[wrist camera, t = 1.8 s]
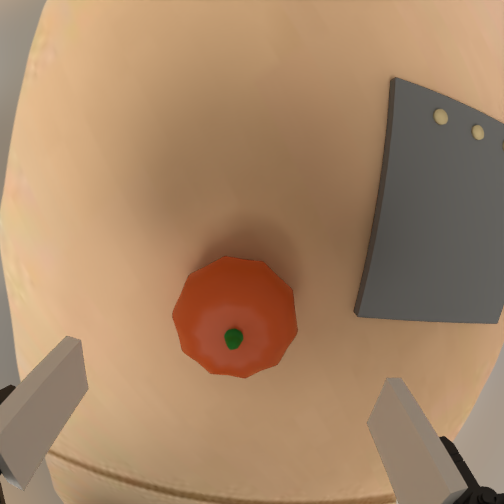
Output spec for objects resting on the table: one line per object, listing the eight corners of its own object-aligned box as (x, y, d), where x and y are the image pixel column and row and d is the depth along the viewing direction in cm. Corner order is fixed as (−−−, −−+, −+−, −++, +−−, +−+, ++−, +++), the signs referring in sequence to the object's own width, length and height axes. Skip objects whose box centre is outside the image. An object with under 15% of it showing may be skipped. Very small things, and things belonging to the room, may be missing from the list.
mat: (491, 319, 24) (499, 325, 23) (353, 311, 24) (359, 319, 22) (525, 140, 20) (534, 140, 19) (390, 80, 20) (398, 75, 18)
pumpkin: (188, 240, 22) (160, 270, 15) (300, 256, 23) (323, 292, 15) (180, 335, 24) (157, 392, 17) (281, 349, 24) (292, 410, 17)
